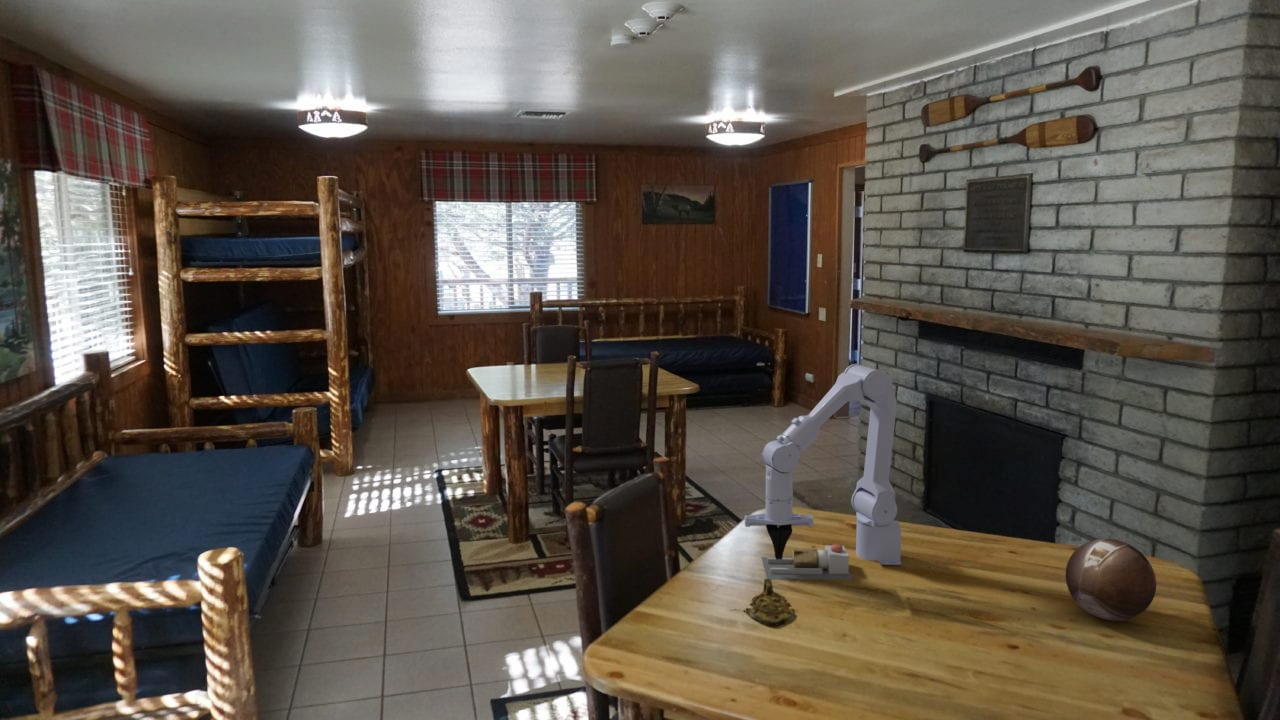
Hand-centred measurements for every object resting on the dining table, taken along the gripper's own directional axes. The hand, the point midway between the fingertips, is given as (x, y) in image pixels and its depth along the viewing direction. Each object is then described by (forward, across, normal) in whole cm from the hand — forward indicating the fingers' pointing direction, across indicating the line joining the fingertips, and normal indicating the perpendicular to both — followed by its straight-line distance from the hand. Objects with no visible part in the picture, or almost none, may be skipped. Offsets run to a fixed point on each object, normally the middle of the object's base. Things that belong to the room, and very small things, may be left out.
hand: (778, 557), depth 184 cm
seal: (+4, +4, +19) cm, 20 cm away
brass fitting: (+2, -6, 0) cm, 6 cm away
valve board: (+3, -6, 0) cm, 7 cm away
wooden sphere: (+4, -60, +21) cm, 63 cm away
